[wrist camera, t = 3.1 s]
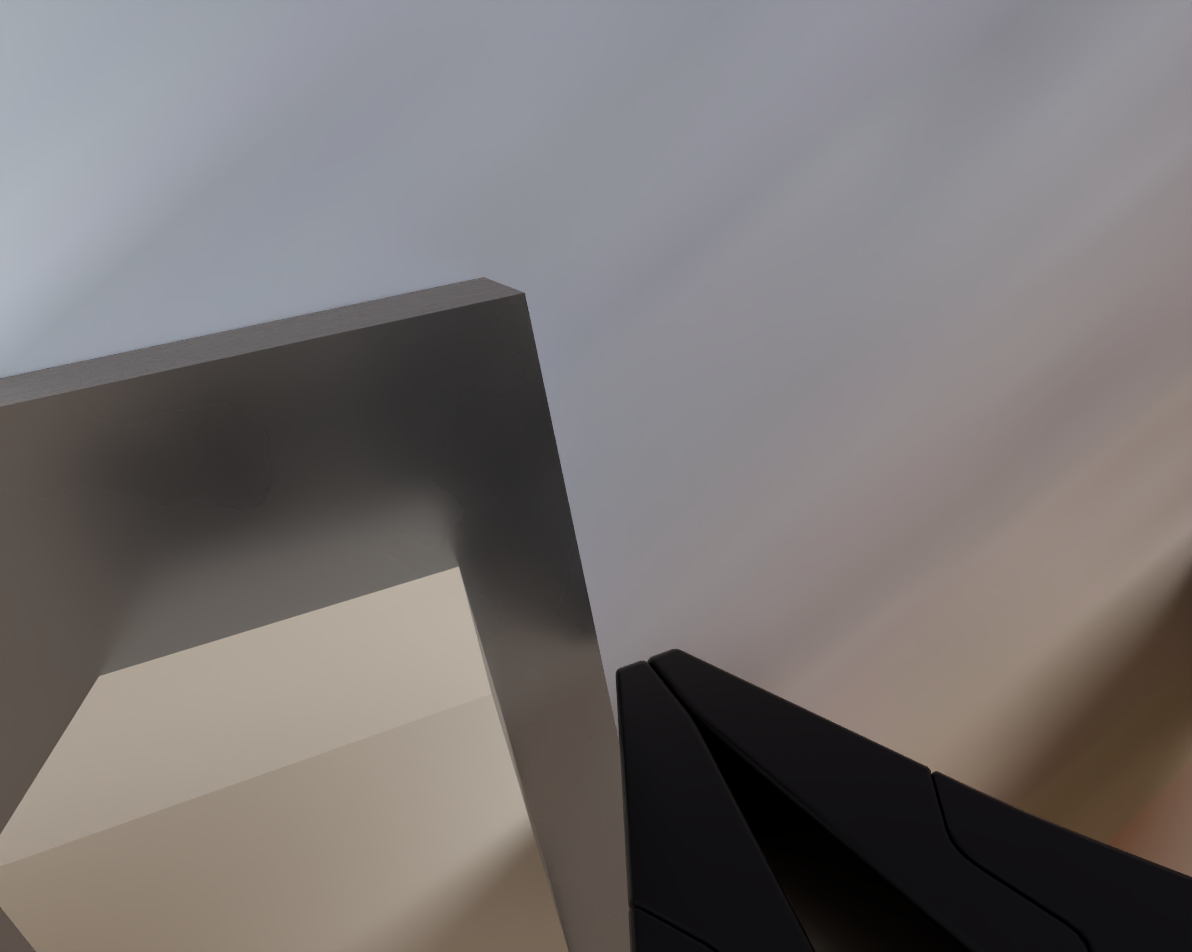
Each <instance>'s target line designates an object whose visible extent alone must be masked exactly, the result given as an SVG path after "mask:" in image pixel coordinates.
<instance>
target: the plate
mask: <svg viewBox="0 0 1192 952" xmlns="http://www.w3.org/2000/svg"><path fill="white" fill-rule="evenodd" d="M456 567H459V569H460V572H461V575H462V579H463V582H464V586H465V589H466V592H467V596H468V599H469V603H470V606H471V609H472V613H473V616H474V620H475V623H476V626H477V630H478V633H479V636H480V640H481V643H482V647H483V650H484V653H485V657H486V660H487V664H488V667H489V670H490V674H491V677H492V681H493V684H494V687H495V691H496V694H497V698H498V701H499V704H500V708H501V711H502V715H503V718H504V721H505V725H506V728H507V732H508V735H509V738H510V742H511V745H512V749H513V752H514V755H515V759H516V762H517V766H518V769H519V772H520V776H521V779H522V783H523V786H524V789H525V793H526V796H527V800H528V803H529V807H530V811H531V814H532V818H533V822H534V825H535V829H536V833H537V836H538V840H539V844H540V847H541V851H542V855H543V858H544V862H545V866H546V869H547V873H548V877H549V880H550V884H551V888H552V891H553V895H554V899H555V902H556V906H557V910H558V913H559V917H560V921H561V924H562V928H563V932H564V935H565V939H566V943H567V946H568V950H569V952H630V937H629V918H628V913H629V906H628V892H627V873H626V855H625V836H624V818H623V800H622V781H621V763H620V746H619V741H618V737H617V732H616V727H615V722H614V717H613V713H612V708H611V703H610V698H609V694H608V689H607V684H606V679H605V674H604V670H603V665H602V660H601V655H600V650H599V646H598V641H597V636H596V631H595V627H594V622H593V617H592V612H591V607H590V603H589V598H588V593H587V588H586V584H585V579H584V574H583V569H582V564H581V560H580V555H579V550H578V545H577V541H576V536H575V531H574V526H573V521H572V517H571V512H570V507H569V502H568V498H567V493H566V488H565V483H564V478H563V474H562V469H561V464H560V459H559V455H558V450H557V445H556V440H555V435H554V431H553V426H552V421H551V416H550V412H549V407H548V402H547V397H546V392H545V388H544V383H543V378H542V373H541V369H540V364H539V359H538V354H537V349H536V345H535V340H534V335H533V330H532V325H531V321H530V316H529V311H528V306H527V302H526V297H525V293H524V292H521V291H518V290H516V289H513V288H511V287H508V286H505V285H503V284H500V283H497V282H495V281H492V280H489V279H487V278H484V277H483V278H478V279H473V280H469V281H464V282H459V283H454V284H450V285H445V286H440V287H435V288H430V289H426V290H421V291H416V292H411V293H406V294H402V295H397V296H392V297H387V298H383V299H378V300H373V301H368V302H363V303H359V304H354V305H349V306H344V307H339V308H335V309H330V310H325V311H320V312H316V313H311V314H306V315H301V316H296V317H292V318H287V319H282V320H277V321H272V322H268V323H263V324H258V325H253V326H248V327H244V328H239V329H234V330H229V331H225V332H220V333H215V334H210V335H205V336H201V337H196V338H191V339H186V340H181V341H177V342H172V343H167V344H162V345H158V346H153V347H148V348H143V349H138V350H134V351H129V352H124V353H119V354H114V355H110V356H105V357H100V358H95V359H91V360H86V361H81V362H76V363H71V364H67V365H62V366H57V367H52V368H47V369H43V370H38V371H33V372H28V373H24V374H19V375H14V376H9V377H4V378H0V834H1V833H2V831H3V829H4V828H5V826H6V825H7V823H8V821H9V820H10V818H11V817H12V815H13V813H14V812H15V810H16V809H17V807H18V805H19V804H20V802H21V801H22V799H23V797H24V796H25V794H26V793H27V791H28V789H29V788H30V786H31V785H32V783H33V781H34V780H35V778H36V776H37V775H38V773H39V772H40V770H41V768H42V767H43V765H44V764H45V762H46V760H47V759H48V757H49V756H50V754H51V752H52V751H53V749H54V748H55V746H56V744H57V743H58V741H59V740H60V738H61V736H62V735H63V733H64V732H65V730H66V728H67V727H68V725H69V724H70V722H71V720H72V719H73V717H74V716H75V714H76V712H77V711H78V709H79V708H80V706H81V704H82V703H83V701H84V700H85V698H86V696H87V695H88V693H89V691H90V690H91V688H92V687H93V685H94V683H95V682H96V680H97V679H98V677H99V676H101V675H105V674H108V673H111V672H114V671H118V670H121V669H124V668H128V667H131V666H134V665H137V664H141V663H144V662H147V661H151V660H154V659H157V658H160V657H164V656H167V655H170V654H174V653H177V652H180V651H183V650H187V649H190V648H193V647H197V646H200V645H203V644H206V643H210V642H213V641H216V640H220V639H223V638H226V637H229V636H233V635H236V634H239V633H242V632H246V631H249V630H252V629H256V628H259V627H262V626H265V625H269V624H272V623H275V622H279V621H282V620H285V619H288V618H292V617H295V616H298V615H302V614H305V613H308V612H311V611H315V610H318V609H321V608H325V607H328V606H331V605H334V604H338V603H341V602H344V601H347V600H351V599H354V598H357V597H361V596H364V595H367V594H370V593H374V592H377V591H380V590H384V589H387V588H390V587H393V586H397V585H400V584H403V583H407V582H410V581H413V580H416V579H420V578H423V577H426V576H430V575H433V574H436V573H439V572H443V571H446V570H449V569H452V568H456ZM0 952H36V951H35V950H34V948H33V947H32V946H31V945H30V943H29V942H28V941H27V940H26V938H25V937H24V936H23V935H22V933H21V932H20V931H19V930H18V928H17V927H16V926H15V925H14V923H13V922H12V921H11V920H10V918H9V917H8V916H7V915H6V913H5V912H4V911H3V910H2V908H1V907H0Z"/></svg>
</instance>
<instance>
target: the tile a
mask: <svg viewBox="0 0 1192 952" xmlns="http://www.w3.org/2000/svg"><path fill="white" fill-rule="evenodd" d="M0 907H1V908H2V910H3V911H4V912H5V913H6V915H7V916H8V917H9V918H10V920H11V921H12V922H13V923H14V925H15V926H16V927H17V928H18V930H19V931H20V932H21V933H22V935H23V936H24V937H25V938H26V940H27V941H28V942H29V943H30V945H31V946H32V947H33V948H34V950H35V951H36V952H569V950H568V946H567V943H566V939H565V935H564V932H563V928H562V924H561V921H560V917H559V913H558V910H557V906H556V902H555V899H554V895H553V891H552V888H551V884H550V880H549V877H548V873H547V869H546V866H545V862H544V858H543V855H542V851H541V847H540V844H539V840H538V836H537V833H536V829H535V825H534V822H533V818H532V814H531V811H530V807H529V803H528V800H527V796H526V793H525V789H524V786H523V783H522V779H521V776H520V772H519V769H518V766H517V762H516V759H515V755H514V752H513V749H512V745H511V742H510V738H509V735H508V732H507V728H506V725H505V721H504V718H503V715H502V711H501V708H500V704H499V701H498V698H497V694H496V691H495V687H494V684H493V681H492V677H491V674H490V670H489V667H488V664H487V660H486V657H485V653H484V650H483V647H482V643H481V640H480V636H479V633H478V630H477V626H476V623H475V620H474V616H473V613H472V609H471V606H470V603H469V599H468V596H467V592H466V589H465V586H464V582H463V579H462V575H461V572H460V569H459V567H456V568H452V569H449V570H446V571H443V572H439V573H436V574H433V575H430V576H426V577H423V578H420V579H416V580H413V581H410V582H407V583H403V584H400V585H397V586H393V587H390V588H387V589H384V590H380V591H377V592H374V593H370V594H367V595H364V596H361V597H357V598H354V599H351V600H347V601H344V602H341V603H338V604H334V605H331V606H328V607H325V608H321V609H318V610H315V611H311V612H308V613H305V614H302V615H298V616H295V617H292V618H288V619H285V620H282V621H279V622H275V623H272V624H269V625H265V626H262V627H259V628H256V629H252V630H249V631H246V632H242V633H239V634H236V635H233V636H229V637H226V638H223V639H220V640H216V641H213V642H210V643H206V644H203V645H200V646H197V647H193V648H190V649H187V650H183V651H180V652H177V653H174V654H170V655H167V656H164V657H160V658H157V659H154V660H151V661H147V662H144V663H141V664H137V665H134V666H131V667H128V668H124V669H121V670H118V671H114V672H111V673H108V674H105V675H101V676H99V677H98V679H97V680H96V682H95V683H94V685H93V687H92V688H91V690H90V691H89V693H88V695H87V696H86V698H85V700H84V701H83V703H82V704H81V706H80V708H79V709H78V711H77V712H76V714H75V716H74V717H73V719H72V720H71V722H70V724H69V725H68V727H67V728H66V730H65V732H64V733H63V735H62V736H61V738H60V740H59V741H58V743H57V744H56V746H55V748H54V749H53V751H52V752H51V754H50V756H49V757H48V759H47V760H46V762H45V764H44V765H43V767H42V768H41V770H40V772H39V773H38V775H37V776H36V778H35V780H34V781H33V783H32V785H31V786H30V788H29V789H28V791H27V793H26V794H25V796H24V797H23V799H22V801H21V802H20V804H19V805H18V807H17V809H16V810H15V812H14V813H13V815H12V817H11V818H10V820H9V821H8V823H7V825H6V826H5V828H4V829H3V831H2V833H1V834H0Z"/></svg>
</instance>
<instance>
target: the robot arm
mask: <svg viewBox="0 0 1192 952" xmlns="http://www.w3.org/2000/svg"><path fill="white" fill-rule="evenodd" d="M616 689H617V708H618V726H619V744H620V763H621V781H622V800H623V818H624V836H625V855H626V873H627V892H628V906H629V913H628V918H629V937H630V952H1192V877H1190V876H1188V875H1185V874H1183V873H1180V872H1177V871H1174V870H1172V869H1170V868H1167V867H1164V866H1161V865H1159V864H1156V863H1154V862H1151V861H1149V860H1146V859H1143V858H1141V857H1138V856H1136V855H1133V854H1130V853H1128V852H1125V851H1123V850H1120V849H1117V848H1115V847H1112V846H1110V845H1107V844H1104V843H1102V842H1099V841H1097V840H1094V839H1092V838H1089V837H1087V836H1084V835H1082V834H1079V833H1077V832H1074V831H1072V830H1069V829H1067V828H1064V827H1062V826H1059V825H1057V824H1054V823H1052V822H1049V821H1047V820H1044V819H1042V818H1040V817H1037V816H1035V815H1032V814H1030V813H1027V812H1025V811H1023V810H1021V809H1018V808H1016V807H1014V806H1012V805H1009V804H1007V803H1005V802H1003V801H1001V800H998V799H996V798H994V797H992V796H989V795H987V794H985V793H983V792H980V791H978V790H976V789H974V788H972V787H969V786H967V785H965V784H963V783H961V782H959V781H957V780H955V779H953V778H950V777H948V776H946V775H944V774H942V773H940V772H937V771H935V772H933V773H932V774H931V771H930V769H929V768H928V767H927V766H924V765H922V764H920V763H918V762H916V761H914V760H912V759H910V758H908V757H905V756H903V755H901V754H899V753H897V752H895V751H893V750H891V749H889V748H886V747H884V746H882V745H880V744H878V743H876V742H874V741H872V740H870V739H867V738H865V737H863V736H861V735H859V734H857V733H855V732H853V731H851V730H848V729H846V728H844V727H842V726H840V725H838V724H836V723H834V722H832V721H829V720H827V719H825V718H823V717H821V716H819V715H817V714H815V713H813V712H810V711H808V710H806V709H804V708H802V707H800V706H798V705H796V704H794V703H791V702H789V701H787V700H785V699H783V698H781V697H779V696H777V695H775V694H772V693H770V692H768V691H766V690H764V689H762V688H760V687H758V686H756V685H753V684H751V683H749V682H747V681H745V680H743V679H741V678H739V677H737V676H734V675H732V674H730V673H728V672H726V671H724V670H722V669H720V668H718V667H715V666H713V665H711V664H709V663H707V662H705V661H703V660H701V659H699V658H696V657H694V656H692V655H690V654H688V653H686V652H684V651H682V650H679V649H672V650H669V651H666V652H663V653H661V654H658V655H655V656H652V657H650V658H649V660H648V662H646V661H638V662H636V663H633V664H630V665H627V666H625V667H622V668H619V669H618V670H617V672H616Z"/></svg>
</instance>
